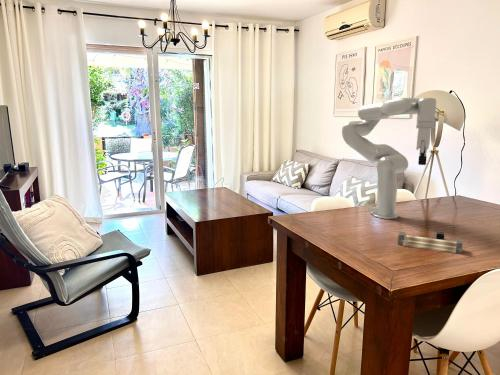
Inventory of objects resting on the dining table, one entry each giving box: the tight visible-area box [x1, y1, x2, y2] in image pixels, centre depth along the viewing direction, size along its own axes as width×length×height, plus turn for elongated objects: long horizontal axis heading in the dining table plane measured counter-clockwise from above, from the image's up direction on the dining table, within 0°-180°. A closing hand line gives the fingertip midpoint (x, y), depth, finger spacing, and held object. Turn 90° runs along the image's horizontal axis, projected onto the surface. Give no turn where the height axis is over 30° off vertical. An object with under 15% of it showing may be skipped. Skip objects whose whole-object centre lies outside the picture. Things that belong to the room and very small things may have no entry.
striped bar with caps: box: [397, 231, 464, 254], centre depth 151 cm, size 23×6×4 cm, turn 62°
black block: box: [431, 230, 447, 241], centre depth 157 cm, size 12×7×5 cm, turn 156°
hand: (422, 164), depth 177 cm, fingers closed
